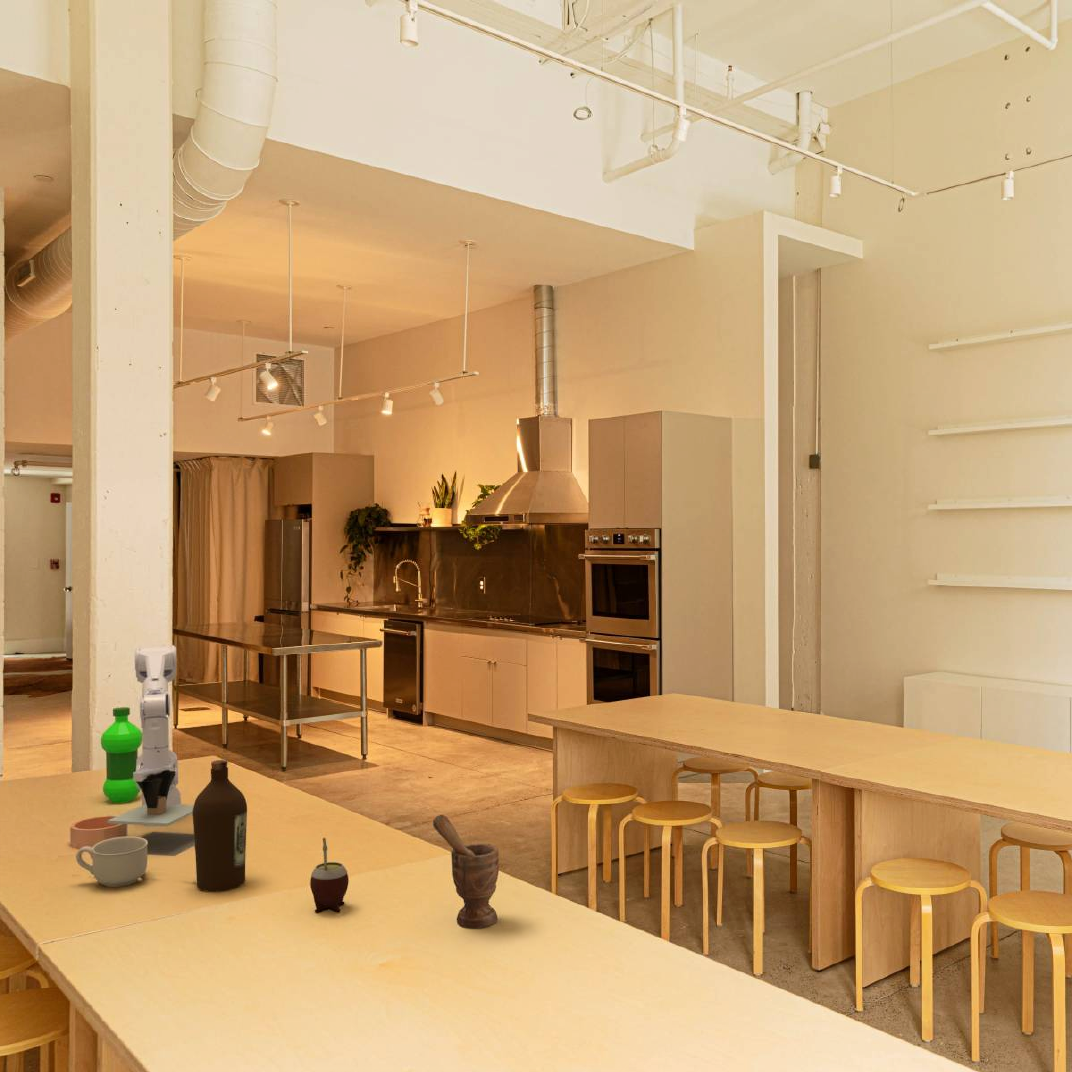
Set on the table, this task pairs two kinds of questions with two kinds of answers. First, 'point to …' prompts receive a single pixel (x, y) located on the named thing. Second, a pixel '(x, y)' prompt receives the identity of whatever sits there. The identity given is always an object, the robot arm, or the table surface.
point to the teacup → (116, 860)
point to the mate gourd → (329, 884)
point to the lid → (154, 814)
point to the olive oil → (220, 832)
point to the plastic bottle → (121, 757)
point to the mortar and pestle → (472, 875)
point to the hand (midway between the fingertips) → (156, 805)
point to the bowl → (95, 831)
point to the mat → (168, 843)
